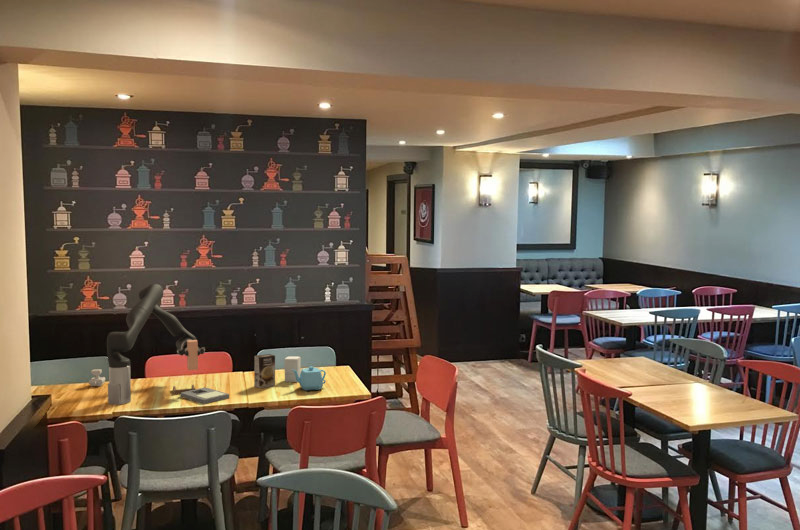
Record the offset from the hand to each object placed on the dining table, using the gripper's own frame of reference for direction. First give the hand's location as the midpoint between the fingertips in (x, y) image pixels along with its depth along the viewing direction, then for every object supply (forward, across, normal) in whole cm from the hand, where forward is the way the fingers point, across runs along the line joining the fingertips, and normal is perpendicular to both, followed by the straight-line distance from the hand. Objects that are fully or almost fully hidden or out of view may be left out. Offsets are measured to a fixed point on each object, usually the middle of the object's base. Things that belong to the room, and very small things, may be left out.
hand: (193, 353), depth 317 cm
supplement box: (-11, +52, +21) cm, 57 cm away
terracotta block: (-3, 0, +8) cm, 8 cm away
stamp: (-38, -44, +21) cm, 62 cm away
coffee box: (-5, +36, +21) cm, 42 cm away
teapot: (+9, +55, +21) cm, 60 cm away
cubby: (-10, -4, +20) cm, 23 cm away
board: (+7, +4, +20) cm, 22 cm away
